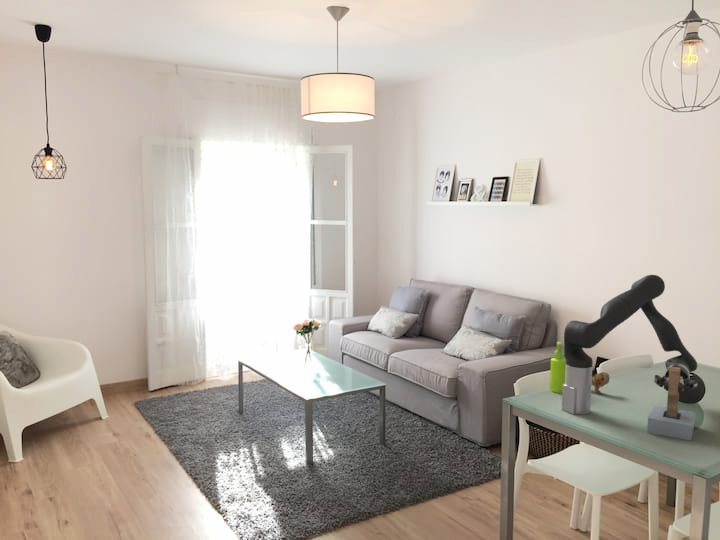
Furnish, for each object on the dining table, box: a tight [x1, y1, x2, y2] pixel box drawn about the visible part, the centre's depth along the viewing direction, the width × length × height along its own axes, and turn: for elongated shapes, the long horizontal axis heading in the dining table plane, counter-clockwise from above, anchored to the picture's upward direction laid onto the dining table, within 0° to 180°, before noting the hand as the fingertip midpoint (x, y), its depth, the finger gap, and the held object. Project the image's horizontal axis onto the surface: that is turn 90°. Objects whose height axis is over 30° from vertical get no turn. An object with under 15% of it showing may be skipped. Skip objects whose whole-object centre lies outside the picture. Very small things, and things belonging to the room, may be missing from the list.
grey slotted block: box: [646, 404, 696, 441], centre depth 205 cm, size 15×13×5 cm
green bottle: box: [549, 341, 566, 394], centre depth 246 cm, size 6×7×20 cm
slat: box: [666, 367, 680, 418], centre depth 204 cm, size 5×3×16 cm, turn 148°
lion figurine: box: [591, 371, 611, 395], centre depth 246 cm, size 15×5×9 cm, turn 47°
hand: (673, 388), depth 201 cm, fingers closed on slat, 3 cm apart
